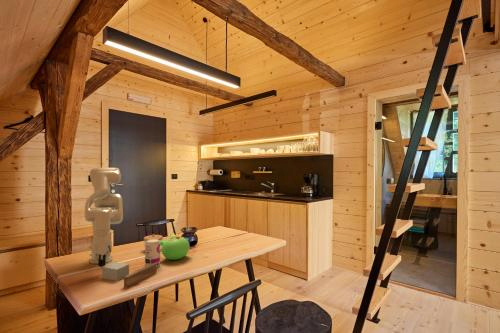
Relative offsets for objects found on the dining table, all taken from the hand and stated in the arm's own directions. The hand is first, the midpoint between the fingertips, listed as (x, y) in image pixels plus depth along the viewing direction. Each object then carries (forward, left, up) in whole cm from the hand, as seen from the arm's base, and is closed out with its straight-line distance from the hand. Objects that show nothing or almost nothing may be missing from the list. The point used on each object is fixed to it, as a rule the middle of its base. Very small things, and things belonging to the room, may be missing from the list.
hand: (101, 266), depth 145 cm
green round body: (+22, +35, -4) cm, 42 cm away
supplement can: (+18, +19, -4) cm, 26 cm away
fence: (+25, +2, -4) cm, 26 cm away
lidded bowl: (-3, +44, -4) cm, 44 cm away
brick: (+10, 0, -4) cm, 11 cm away
